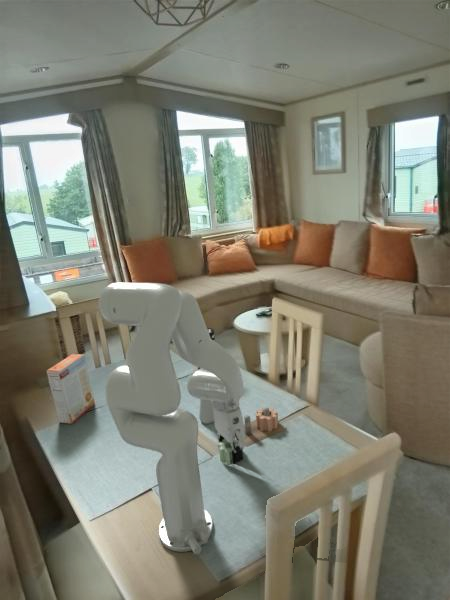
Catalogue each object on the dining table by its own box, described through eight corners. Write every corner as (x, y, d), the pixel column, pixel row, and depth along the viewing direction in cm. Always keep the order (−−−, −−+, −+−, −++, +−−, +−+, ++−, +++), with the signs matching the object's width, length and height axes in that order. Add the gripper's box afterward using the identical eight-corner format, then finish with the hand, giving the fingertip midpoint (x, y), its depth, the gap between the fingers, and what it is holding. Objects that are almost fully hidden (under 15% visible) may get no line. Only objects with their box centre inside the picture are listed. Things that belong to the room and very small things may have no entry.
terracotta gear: (282, 423, 133) (281, 410, 132) (270, 434, 128) (270, 421, 126) (264, 417, 137) (263, 405, 136) (252, 427, 132) (251, 415, 131)
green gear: (247, 458, 120) (246, 445, 118) (227, 468, 116) (225, 455, 115) (235, 446, 125) (234, 434, 124) (215, 455, 122) (214, 443, 121)
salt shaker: (214, 428, 136) (210, 392, 132) (198, 427, 137) (193, 392, 133) (218, 418, 141) (214, 383, 138) (202, 417, 142) (198, 383, 139)
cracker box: (82, 402, 160) (72, 353, 154) (95, 404, 158) (85, 353, 152) (57, 423, 148) (45, 369, 142) (71, 424, 146) (59, 371, 140)
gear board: (287, 431, 130) (285, 411, 128) (247, 450, 123) (245, 429, 121) (268, 417, 139) (267, 398, 137) (230, 434, 132) (228, 414, 130)
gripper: (254, 409, 110) (258, 465, 115) (221, 384, 125) (227, 436, 130) (230, 419, 107) (235, 477, 112) (199, 392, 121) (206, 445, 126)
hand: (231, 454), depth 121 cm, fingers closed on green gear, 6 cm apart
